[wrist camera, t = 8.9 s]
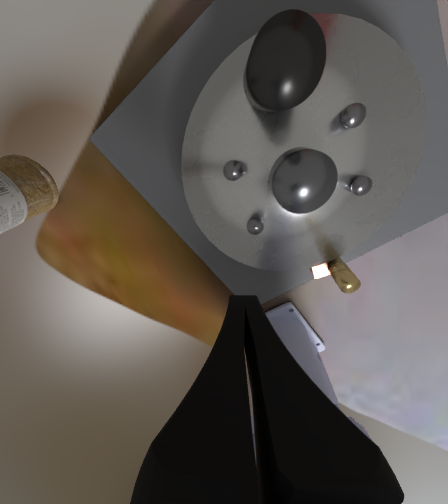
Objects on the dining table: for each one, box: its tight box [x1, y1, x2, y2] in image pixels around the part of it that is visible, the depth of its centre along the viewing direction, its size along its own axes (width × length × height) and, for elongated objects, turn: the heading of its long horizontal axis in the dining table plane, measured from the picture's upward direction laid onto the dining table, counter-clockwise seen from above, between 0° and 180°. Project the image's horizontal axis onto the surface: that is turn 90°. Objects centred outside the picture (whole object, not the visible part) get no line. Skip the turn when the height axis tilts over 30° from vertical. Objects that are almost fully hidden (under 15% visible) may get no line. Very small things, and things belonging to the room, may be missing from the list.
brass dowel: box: [327, 257, 361, 293], centre depth 17 cm, size 1×1×4 cm
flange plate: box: [181, 9, 426, 279], centre depth 13 cm, size 16×15×5 cm
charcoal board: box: [89, 0, 448, 305], centre depth 16 cm, size 20×20×1 cm
